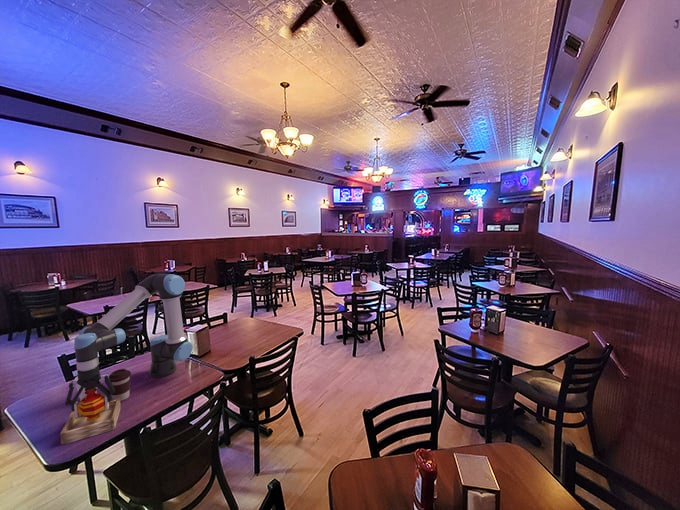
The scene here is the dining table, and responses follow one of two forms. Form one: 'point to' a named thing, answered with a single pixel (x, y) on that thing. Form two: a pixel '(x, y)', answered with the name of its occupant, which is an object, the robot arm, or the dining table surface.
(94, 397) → the potion bottle
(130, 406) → the dining table surface
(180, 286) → the robot arm
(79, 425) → the tray
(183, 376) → the dining table surface
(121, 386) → the coffee cup
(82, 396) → the foam cup
